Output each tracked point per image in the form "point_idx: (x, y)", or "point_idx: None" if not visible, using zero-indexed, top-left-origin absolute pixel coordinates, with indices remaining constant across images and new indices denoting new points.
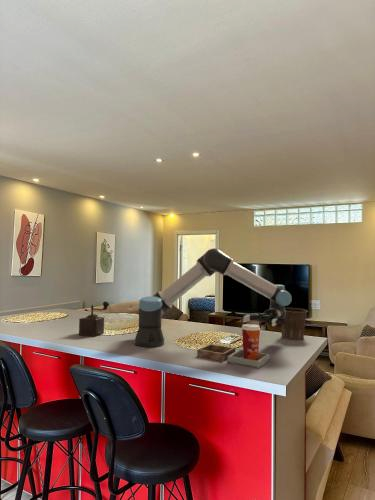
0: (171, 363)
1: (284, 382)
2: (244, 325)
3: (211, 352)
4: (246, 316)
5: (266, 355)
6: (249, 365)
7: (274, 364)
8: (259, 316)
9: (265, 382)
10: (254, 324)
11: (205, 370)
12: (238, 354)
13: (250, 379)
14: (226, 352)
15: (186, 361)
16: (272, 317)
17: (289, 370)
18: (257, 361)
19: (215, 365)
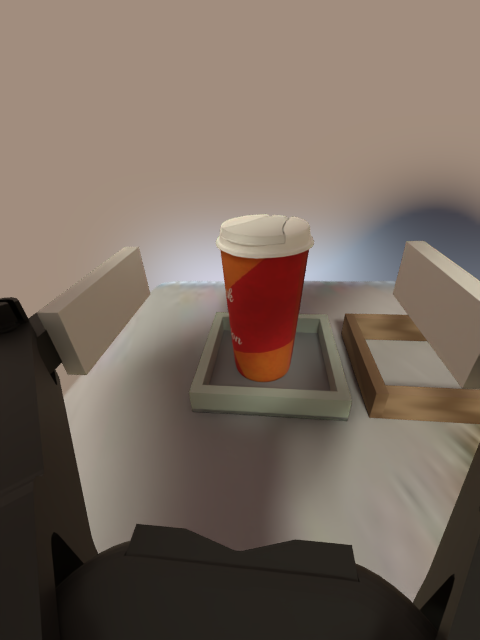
0: None
1: (153, 290)
2: (291, 218)
3: (396, 316)
4: (422, 257)
5: (201, 370)
6: None
7: (171, 371)
8: (456, 537)
9: (192, 281)
10: (257, 235)
11: (328, 282)
12: (330, 377)
13: (222, 281)
14: (352, 328)
15: None
16: (54, 493)
17: (126, 344)
18: (222, 312)
19: (334, 305)
